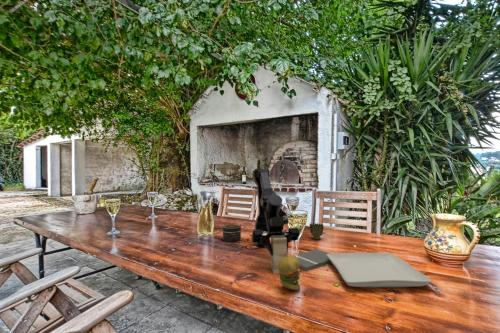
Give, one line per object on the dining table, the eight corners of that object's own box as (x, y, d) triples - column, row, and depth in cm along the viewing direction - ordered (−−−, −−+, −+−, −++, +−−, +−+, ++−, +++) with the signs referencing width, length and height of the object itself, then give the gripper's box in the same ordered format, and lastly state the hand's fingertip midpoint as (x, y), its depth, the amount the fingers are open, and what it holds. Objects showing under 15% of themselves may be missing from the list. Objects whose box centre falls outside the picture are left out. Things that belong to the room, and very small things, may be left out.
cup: (324, 241, 144) (323, 226, 144) (309, 240, 146) (309, 225, 146) (323, 237, 151) (323, 223, 151) (309, 237, 153) (309, 222, 153)
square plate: (325, 261, 114) (325, 252, 114) (392, 261, 113) (391, 251, 113) (346, 292, 87) (346, 279, 87) (434, 292, 86) (433, 279, 86)
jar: (244, 240, 148) (244, 226, 148) (228, 244, 142) (228, 229, 142) (235, 236, 156) (234, 223, 156) (219, 239, 150) (219, 226, 150)
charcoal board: (283, 261, 115) (283, 257, 115) (316, 252, 126) (316, 248, 126) (306, 271, 104) (305, 267, 104) (340, 260, 115) (339, 256, 115)
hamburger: (305, 292, 87) (305, 255, 87) (285, 296, 85) (284, 258, 85) (293, 282, 95) (293, 248, 94) (274, 286, 92) (274, 250, 92)
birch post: (271, 268, 107) (271, 235, 107) (283, 268, 108) (283, 235, 108) (273, 273, 102) (273, 239, 102) (286, 273, 103) (286, 238, 103)
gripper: (252, 209, 108) (257, 245, 97) (298, 207, 110) (307, 242, 99) (250, 225, 116) (254, 260, 105) (293, 223, 118) (301, 257, 107)
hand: (279, 254), depth 104 cm, fingers closed on birch post, 5 cm apart
